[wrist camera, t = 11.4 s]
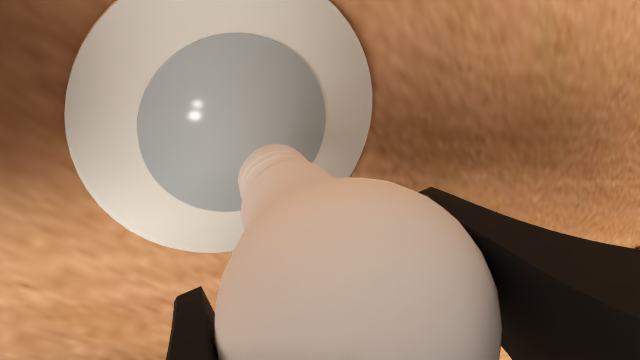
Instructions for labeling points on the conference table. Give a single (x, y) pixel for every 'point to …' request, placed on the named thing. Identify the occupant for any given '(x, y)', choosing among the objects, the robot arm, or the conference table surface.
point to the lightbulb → (349, 271)
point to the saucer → (209, 107)
